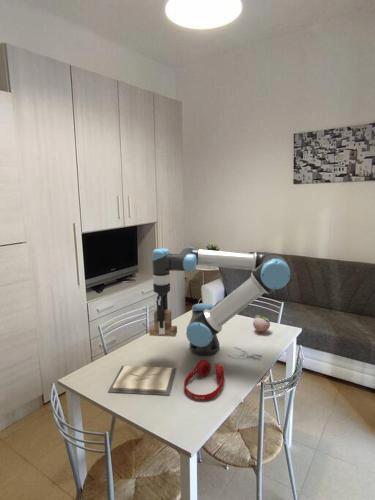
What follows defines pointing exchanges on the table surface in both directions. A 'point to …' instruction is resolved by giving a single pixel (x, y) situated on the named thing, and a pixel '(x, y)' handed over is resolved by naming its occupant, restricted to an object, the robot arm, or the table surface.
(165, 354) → the table surface
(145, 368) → the board
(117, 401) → the table surface
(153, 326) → the stepped wooden block
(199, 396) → the headphones
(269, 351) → the table surface
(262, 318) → the decorative fruit
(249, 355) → the pliers
